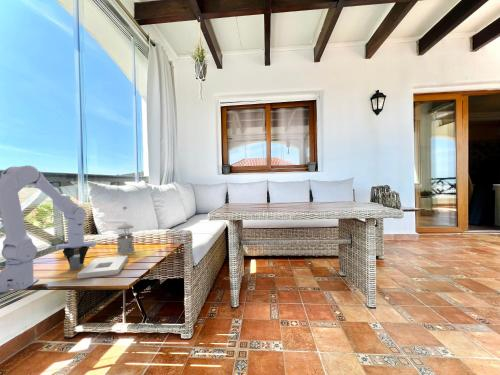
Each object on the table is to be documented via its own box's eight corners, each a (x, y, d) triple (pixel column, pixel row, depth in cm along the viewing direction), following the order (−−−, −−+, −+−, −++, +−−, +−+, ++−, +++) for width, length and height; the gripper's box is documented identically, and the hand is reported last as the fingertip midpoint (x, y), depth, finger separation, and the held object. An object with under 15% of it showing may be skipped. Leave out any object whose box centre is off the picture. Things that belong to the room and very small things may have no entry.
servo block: (79, 268, 103) (78, 257, 103) (69, 269, 102) (69, 258, 102) (83, 264, 108) (83, 254, 108) (74, 265, 107) (74, 254, 107)
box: (73, 256, 121) (72, 242, 121) (63, 256, 123) (63, 242, 123) (83, 253, 127) (83, 239, 127) (74, 252, 129) (74, 239, 128)
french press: (114, 255, 121) (112, 207, 121) (117, 250, 132) (116, 206, 132) (135, 253, 125) (134, 206, 125) (136, 248, 136) (135, 205, 136)
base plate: (117, 274, 95) (117, 269, 95) (77, 278, 91) (77, 273, 91) (128, 259, 115) (127, 255, 114) (95, 262, 110) (95, 258, 110)
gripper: (97, 230, 111) (98, 259, 111) (61, 233, 106) (61, 262, 107) (92, 233, 104) (92, 264, 104) (53, 236, 100) (53, 268, 100)
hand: (76, 263), depth 105 cm, fingers closed on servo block, 3 cm apart
